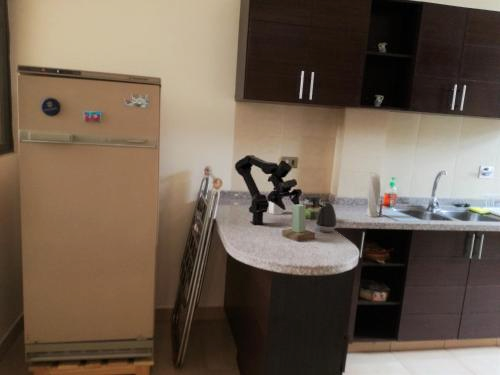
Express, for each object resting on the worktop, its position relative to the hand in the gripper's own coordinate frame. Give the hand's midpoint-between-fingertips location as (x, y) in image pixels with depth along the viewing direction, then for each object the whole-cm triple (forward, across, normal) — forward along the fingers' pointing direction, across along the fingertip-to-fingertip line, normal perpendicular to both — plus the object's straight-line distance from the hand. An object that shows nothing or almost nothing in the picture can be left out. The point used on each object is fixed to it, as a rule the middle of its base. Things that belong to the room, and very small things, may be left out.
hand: (292, 209), depth 188 cm
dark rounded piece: (+12, +21, +7) cm, 25 cm away
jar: (-22, +28, +41) cm, 54 cm away
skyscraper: (+2, +78, +17) cm, 80 cm away
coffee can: (-5, +35, +24) cm, 43 cm away
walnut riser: (+13, 0, +6) cm, 14 cm away
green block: (+11, 0, +3) cm, 11 cm away
